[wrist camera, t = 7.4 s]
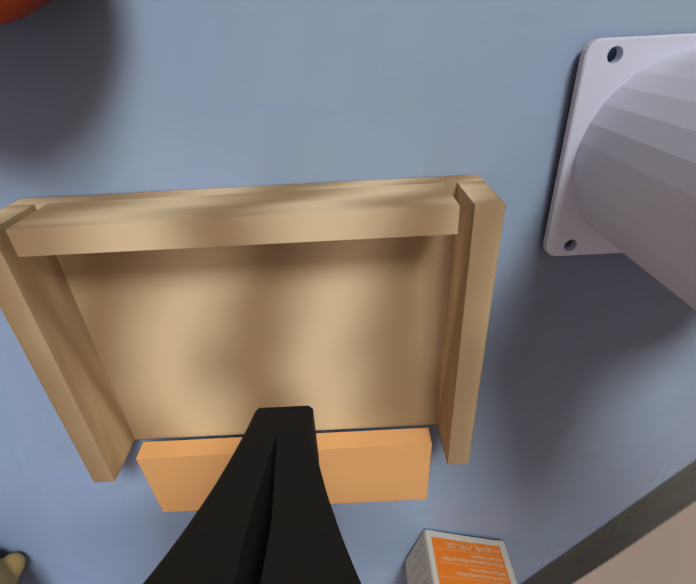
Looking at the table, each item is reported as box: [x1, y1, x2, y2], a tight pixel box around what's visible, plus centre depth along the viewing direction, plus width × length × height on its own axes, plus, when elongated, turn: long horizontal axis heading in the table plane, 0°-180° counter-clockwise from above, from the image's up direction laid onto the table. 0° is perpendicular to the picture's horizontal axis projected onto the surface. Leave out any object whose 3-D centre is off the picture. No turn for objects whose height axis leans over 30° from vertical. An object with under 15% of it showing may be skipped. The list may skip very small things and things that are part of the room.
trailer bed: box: [0, 175, 505, 482], centre depth 19 cm, size 18×13×3 cm
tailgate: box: [136, 428, 432, 512], centre depth 25 cm, size 15×2×5 cm
